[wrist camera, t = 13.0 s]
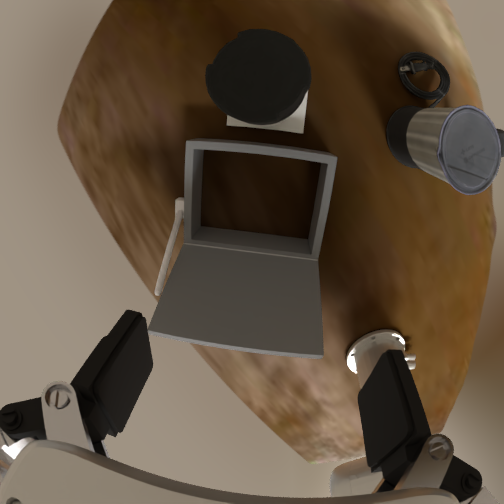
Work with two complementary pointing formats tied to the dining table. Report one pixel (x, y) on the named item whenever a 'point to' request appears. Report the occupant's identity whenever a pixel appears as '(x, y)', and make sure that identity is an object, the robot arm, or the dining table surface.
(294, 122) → the pad
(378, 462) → the robot arm
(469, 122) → the milk frother
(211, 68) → the spray can
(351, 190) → the dining table surface
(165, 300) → the case
